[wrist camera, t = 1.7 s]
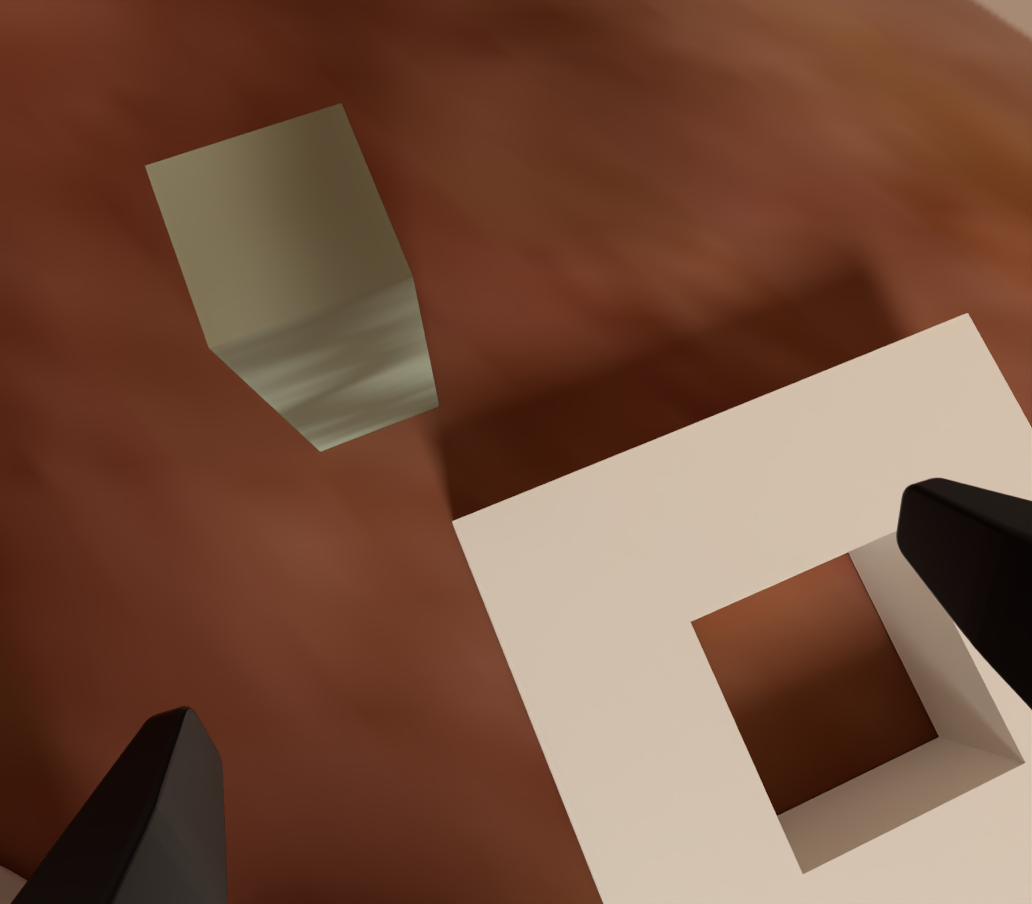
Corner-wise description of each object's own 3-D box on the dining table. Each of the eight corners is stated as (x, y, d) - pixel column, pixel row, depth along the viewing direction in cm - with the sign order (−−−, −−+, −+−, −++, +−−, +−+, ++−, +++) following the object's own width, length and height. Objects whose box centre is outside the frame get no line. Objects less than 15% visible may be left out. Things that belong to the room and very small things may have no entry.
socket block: (672, 1077, 19) (713, 1180, 16) (456, 533, 22) (451, 521, 19) (1149, 825, 21) (1277, 868, 18) (898, 353, 24) (968, 313, 21)
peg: (320, 451, 22) (209, 348, 13) (278, 339, 23) (144, 165, 14) (439, 406, 23) (412, 276, 14) (395, 297, 24) (341, 102, 14)
